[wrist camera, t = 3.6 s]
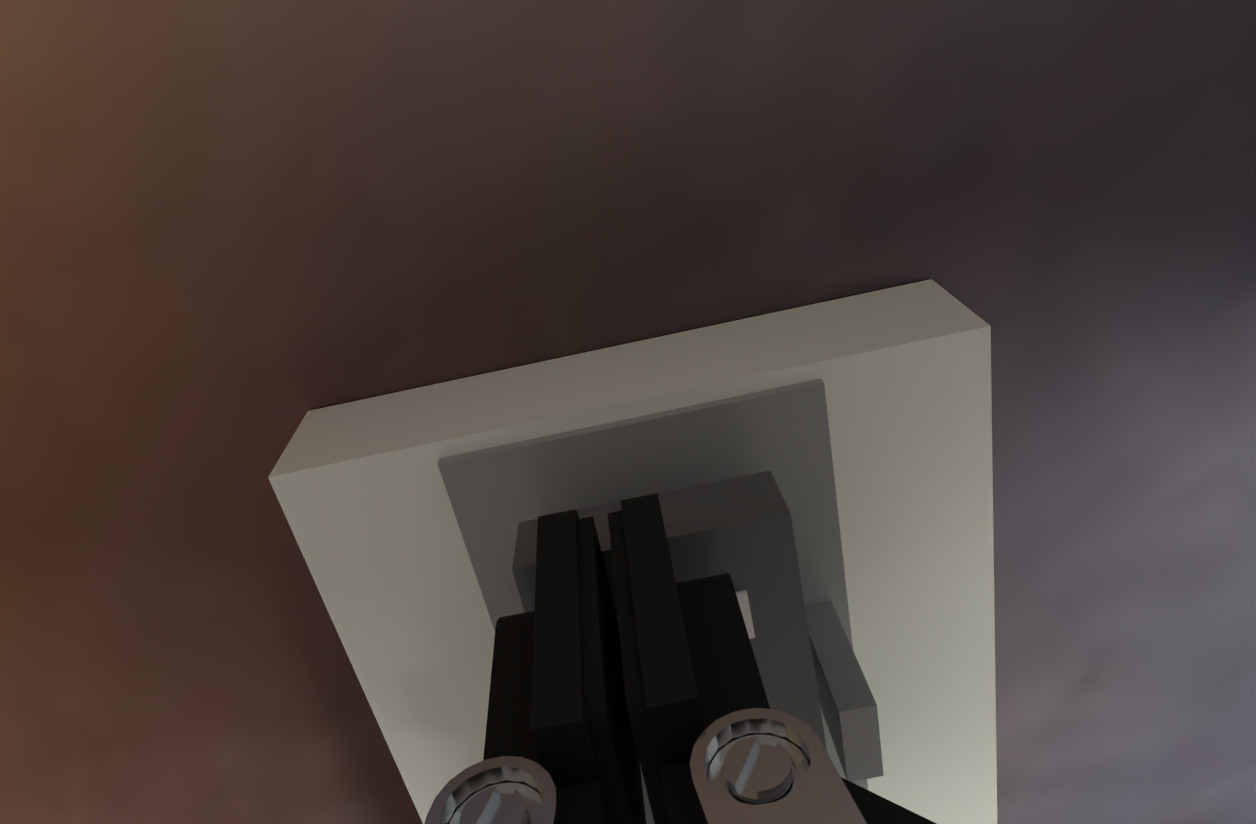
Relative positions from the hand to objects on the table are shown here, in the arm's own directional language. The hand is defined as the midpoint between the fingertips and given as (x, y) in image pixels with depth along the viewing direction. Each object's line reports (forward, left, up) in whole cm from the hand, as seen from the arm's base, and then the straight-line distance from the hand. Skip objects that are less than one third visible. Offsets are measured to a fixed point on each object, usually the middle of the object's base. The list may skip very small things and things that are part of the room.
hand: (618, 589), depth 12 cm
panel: (-1, +13, -5) cm, 14 cm away
